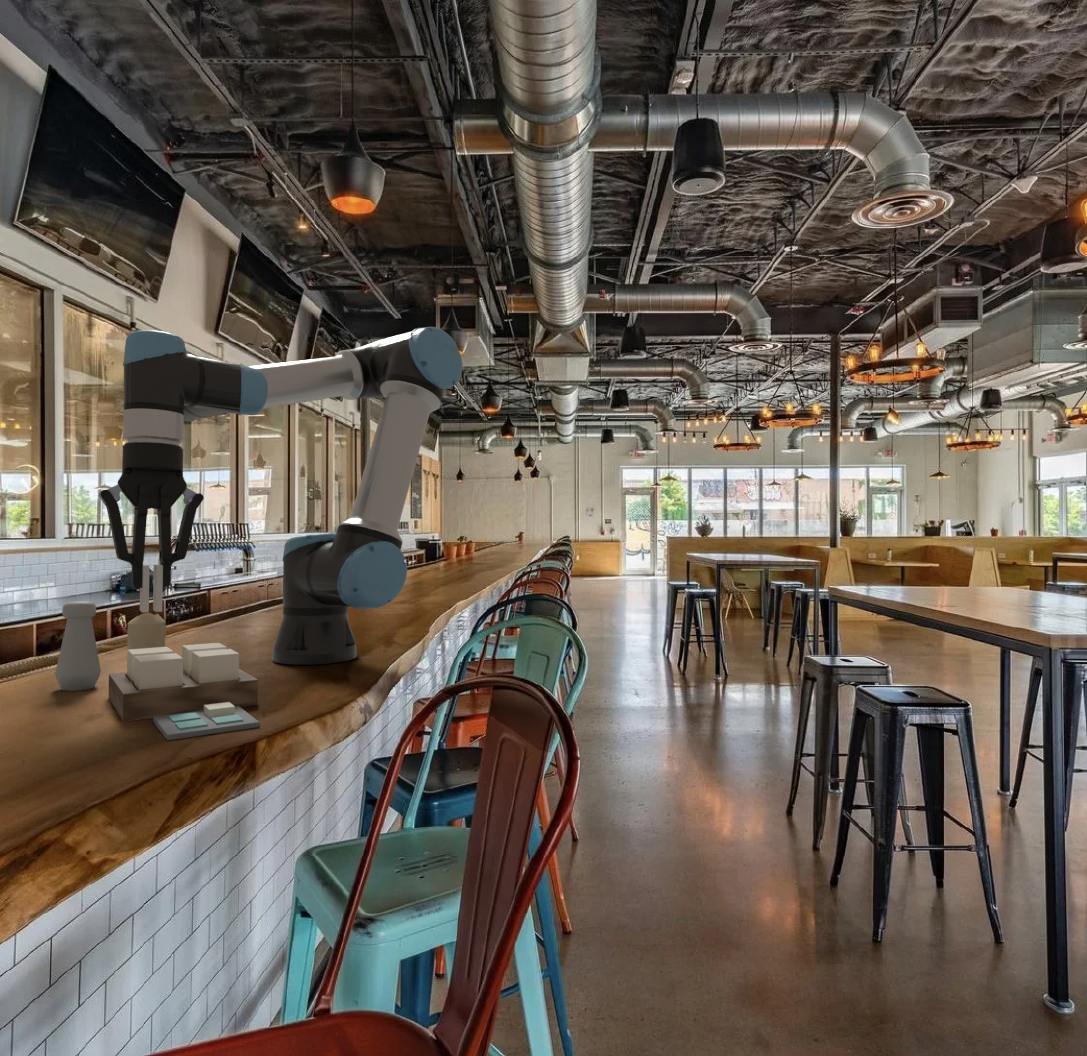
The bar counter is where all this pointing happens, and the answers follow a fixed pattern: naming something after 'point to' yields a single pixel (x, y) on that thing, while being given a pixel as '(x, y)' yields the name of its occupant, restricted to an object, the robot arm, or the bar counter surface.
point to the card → (205, 721)
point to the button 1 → (142, 652)
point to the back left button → (189, 649)
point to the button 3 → (215, 665)
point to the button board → (178, 696)
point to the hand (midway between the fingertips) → (150, 610)
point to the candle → (146, 632)
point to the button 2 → (158, 671)
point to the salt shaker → (78, 648)
